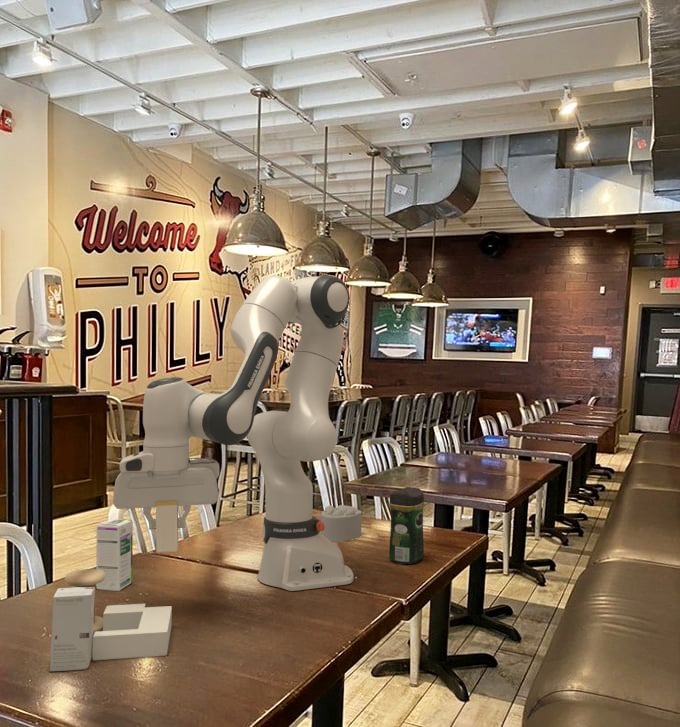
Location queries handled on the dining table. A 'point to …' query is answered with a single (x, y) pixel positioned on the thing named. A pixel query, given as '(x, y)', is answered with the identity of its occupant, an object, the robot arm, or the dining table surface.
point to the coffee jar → (406, 525)
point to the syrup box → (115, 553)
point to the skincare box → (72, 628)
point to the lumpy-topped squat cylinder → (341, 523)
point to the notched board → (133, 632)
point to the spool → (87, 580)
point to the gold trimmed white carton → (166, 526)
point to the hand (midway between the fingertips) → (167, 528)
